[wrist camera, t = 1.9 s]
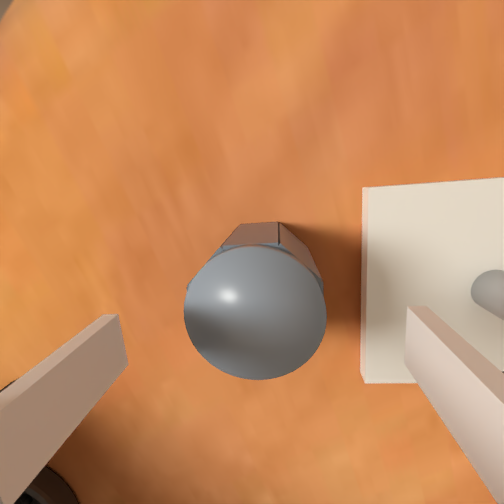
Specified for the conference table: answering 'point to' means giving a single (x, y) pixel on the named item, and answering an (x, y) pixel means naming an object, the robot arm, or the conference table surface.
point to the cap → (257, 304)
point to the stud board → (431, 268)
